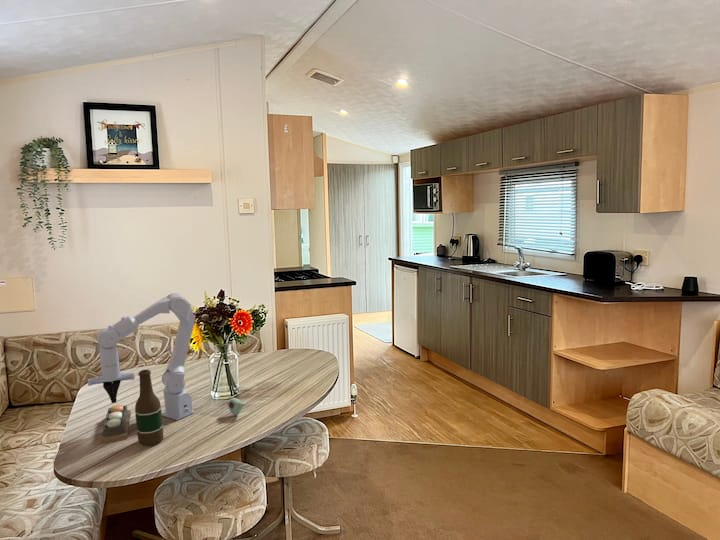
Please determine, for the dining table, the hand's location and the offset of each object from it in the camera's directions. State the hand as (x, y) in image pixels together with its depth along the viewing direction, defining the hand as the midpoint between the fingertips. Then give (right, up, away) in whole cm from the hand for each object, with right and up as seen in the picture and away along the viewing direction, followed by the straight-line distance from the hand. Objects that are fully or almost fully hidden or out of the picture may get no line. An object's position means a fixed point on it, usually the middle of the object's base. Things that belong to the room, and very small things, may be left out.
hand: (114, 402), depth 187 cm
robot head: (+40, -7, +8) cm, 41 cm away
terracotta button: (-2, -5, +7) cm, 9 cm away
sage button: (+2, -7, -5) cm, 9 cm away
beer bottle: (+17, -11, -10) cm, 22 cm away
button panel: (0, -9, +1) cm, 9 cm away
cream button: (0, -6, +1) cm, 6 cm away
